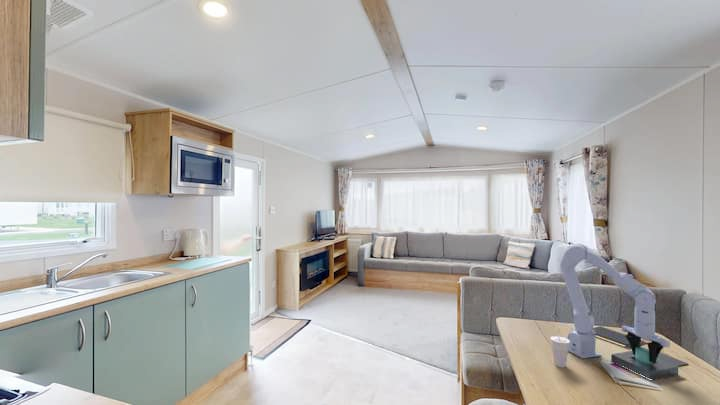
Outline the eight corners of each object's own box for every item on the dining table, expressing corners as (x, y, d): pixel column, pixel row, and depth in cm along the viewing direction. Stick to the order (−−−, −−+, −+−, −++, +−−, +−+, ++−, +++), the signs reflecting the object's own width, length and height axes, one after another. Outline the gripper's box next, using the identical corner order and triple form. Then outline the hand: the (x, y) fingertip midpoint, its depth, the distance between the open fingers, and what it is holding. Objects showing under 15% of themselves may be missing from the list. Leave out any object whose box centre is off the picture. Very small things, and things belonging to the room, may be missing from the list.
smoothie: (552, 358, 125) (553, 323, 125) (571, 364, 120) (572, 328, 120) (548, 364, 120) (548, 328, 120) (567, 371, 116) (567, 333, 116)
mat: (667, 368, 118) (667, 367, 118) (635, 354, 128) (635, 353, 128) (688, 364, 121) (688, 363, 121) (654, 351, 131) (654, 350, 131)
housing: (649, 380, 110) (649, 371, 110) (611, 362, 122) (611, 354, 122) (678, 374, 114) (678, 366, 113) (637, 357, 126) (638, 349, 126)
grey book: (648, 340, 138) (628, 347, 132) (648, 345, 138) (628, 351, 132) (598, 324, 157) (579, 329, 151) (598, 328, 157) (579, 333, 151)
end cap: (646, 372, 115) (647, 353, 115) (631, 365, 120) (631, 347, 119) (656, 371, 116) (656, 351, 116) (641, 364, 121) (641, 345, 121)
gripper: (676, 328, 112) (675, 366, 112) (631, 313, 126) (630, 347, 126) (661, 330, 110) (661, 369, 110) (617, 315, 124) (617, 350, 124)
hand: (644, 358), depth 118 cm, fingers closed on end cap, 5 cm apart
